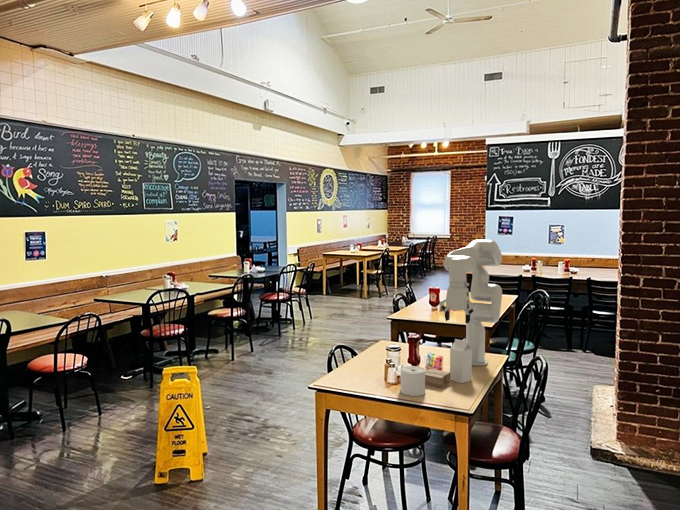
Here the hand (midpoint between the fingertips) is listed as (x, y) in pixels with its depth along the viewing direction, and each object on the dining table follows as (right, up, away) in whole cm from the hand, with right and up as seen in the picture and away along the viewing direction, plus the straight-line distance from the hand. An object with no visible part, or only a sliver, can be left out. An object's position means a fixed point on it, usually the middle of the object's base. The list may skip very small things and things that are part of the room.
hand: (457, 321), depth 228 cm
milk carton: (+2, -28, +4) cm, 29 cm away
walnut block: (-10, -29, 0) cm, 30 cm away
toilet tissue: (-23, -29, -11) cm, 39 cm away
